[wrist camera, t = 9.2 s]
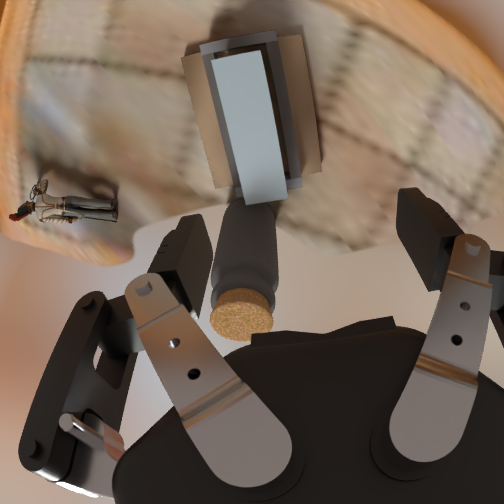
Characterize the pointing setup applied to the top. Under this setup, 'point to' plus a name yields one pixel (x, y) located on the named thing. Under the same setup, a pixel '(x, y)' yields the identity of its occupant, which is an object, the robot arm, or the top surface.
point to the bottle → (245, 272)
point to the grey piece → (282, 98)
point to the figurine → (63, 207)
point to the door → (251, 126)
